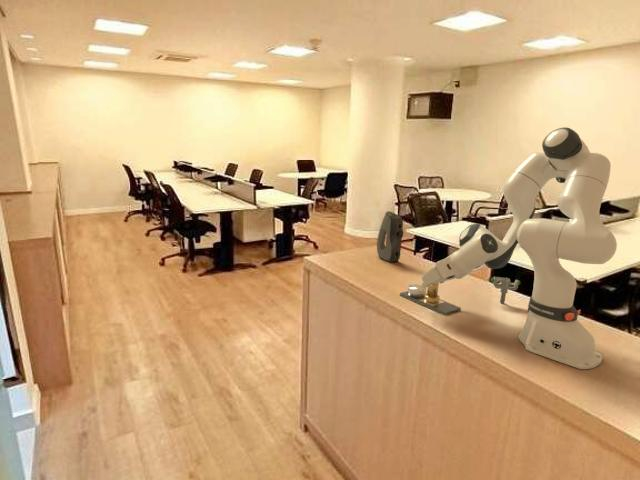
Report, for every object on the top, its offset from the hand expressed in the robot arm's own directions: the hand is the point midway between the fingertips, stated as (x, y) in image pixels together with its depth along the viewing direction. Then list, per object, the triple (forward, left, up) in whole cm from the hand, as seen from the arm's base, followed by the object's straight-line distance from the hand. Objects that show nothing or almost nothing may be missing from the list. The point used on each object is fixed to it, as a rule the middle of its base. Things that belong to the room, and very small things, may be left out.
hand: (432, 283), depth 156 cm
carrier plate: (0, 0, -8) cm, 8 cm away
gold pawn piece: (-1, 0, -7) cm, 7 cm away
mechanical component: (-15, -26, -8) cm, 30 cm away
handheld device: (+50, -27, -8) cm, 58 cm away
